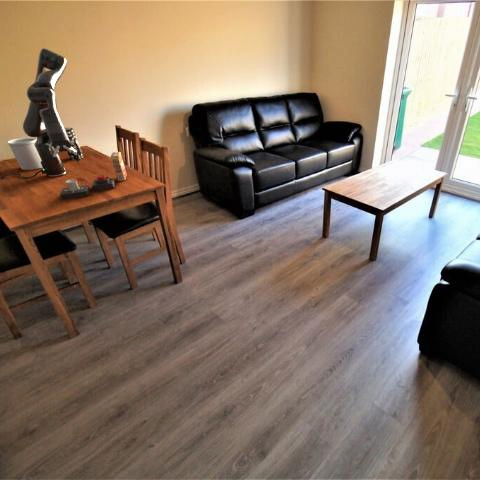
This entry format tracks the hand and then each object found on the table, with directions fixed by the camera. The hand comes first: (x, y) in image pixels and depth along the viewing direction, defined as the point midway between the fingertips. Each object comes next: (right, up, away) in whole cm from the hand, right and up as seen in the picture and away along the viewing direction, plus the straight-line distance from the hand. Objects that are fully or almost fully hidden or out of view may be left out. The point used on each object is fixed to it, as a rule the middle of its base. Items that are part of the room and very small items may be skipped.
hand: (69, 162), depth 171 cm
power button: (+8, -6, +15) cm, 18 cm away
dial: (-2, -13, +6) cm, 15 cm away
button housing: (+8, -10, +17) cm, 21 cm away
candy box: (+11, -3, +29) cm, 31 cm away
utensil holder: (-58, +8, +45) cm, 74 cm away
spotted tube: (-43, +18, +62) cm, 77 cm away
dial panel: (-2, -16, +8) cm, 18 cm away
